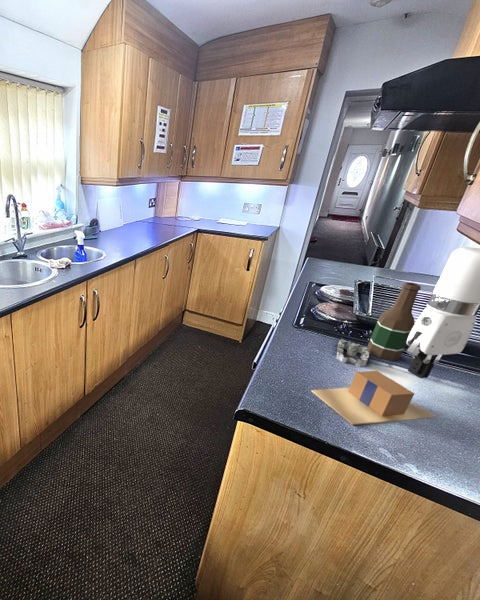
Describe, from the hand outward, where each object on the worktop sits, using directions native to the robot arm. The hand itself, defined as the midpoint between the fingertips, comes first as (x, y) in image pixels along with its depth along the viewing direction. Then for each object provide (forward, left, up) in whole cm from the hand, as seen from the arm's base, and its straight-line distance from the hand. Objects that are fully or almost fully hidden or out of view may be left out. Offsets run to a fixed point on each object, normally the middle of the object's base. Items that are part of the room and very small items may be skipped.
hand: (417, 374), depth 78 cm
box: (+6, 0, -5) cm, 7 cm away
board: (+10, 0, -8) cm, 12 cm away
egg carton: (-3, -19, -8) cm, 21 cm away
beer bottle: (-14, -19, -8) cm, 25 cm away
